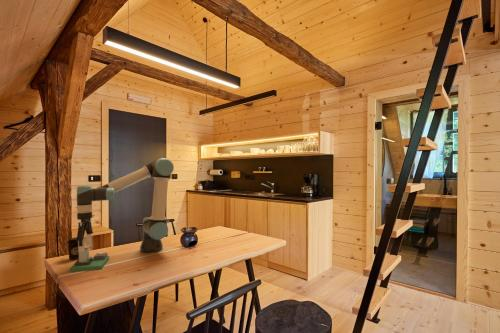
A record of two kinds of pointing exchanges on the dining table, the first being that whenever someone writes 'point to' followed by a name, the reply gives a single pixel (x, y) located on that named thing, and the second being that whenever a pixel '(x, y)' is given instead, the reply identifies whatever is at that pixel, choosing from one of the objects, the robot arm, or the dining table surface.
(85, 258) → the plug
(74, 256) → the coffee cup
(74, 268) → the board
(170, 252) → the dining table surface
